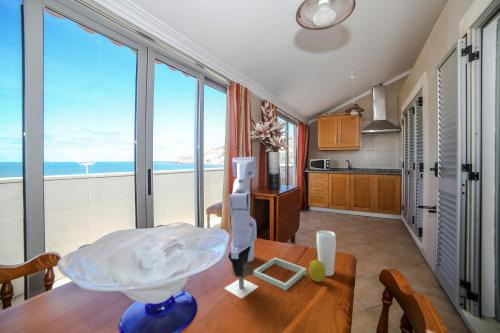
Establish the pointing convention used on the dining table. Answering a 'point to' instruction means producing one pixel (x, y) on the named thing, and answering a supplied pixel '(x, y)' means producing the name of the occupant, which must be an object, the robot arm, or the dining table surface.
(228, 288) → the white base with peg
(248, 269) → the ring
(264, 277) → the tray
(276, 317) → the dining table surface
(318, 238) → the drinking glass
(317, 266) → the lemon
